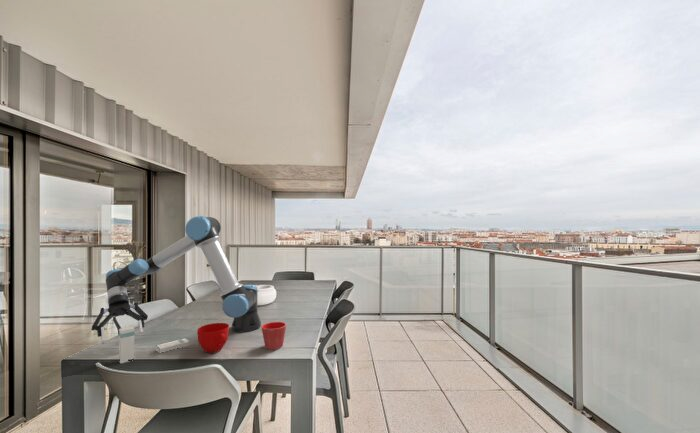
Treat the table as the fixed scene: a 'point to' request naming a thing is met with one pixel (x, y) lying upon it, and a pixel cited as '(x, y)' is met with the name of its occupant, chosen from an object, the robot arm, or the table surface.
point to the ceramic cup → (213, 336)
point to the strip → (172, 345)
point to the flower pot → (273, 335)
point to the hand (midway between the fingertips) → (123, 337)
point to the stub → (126, 343)
